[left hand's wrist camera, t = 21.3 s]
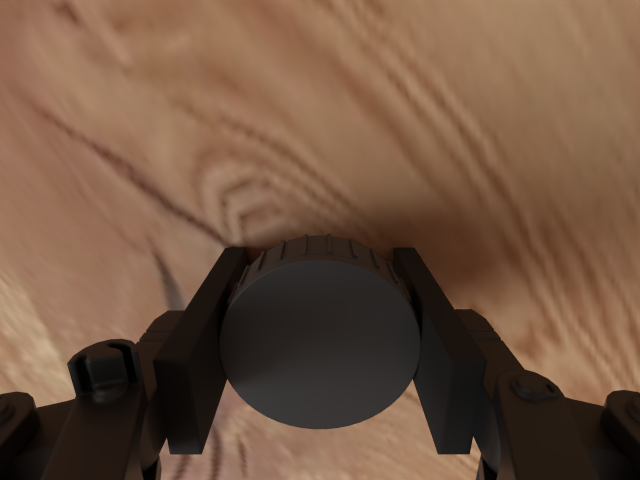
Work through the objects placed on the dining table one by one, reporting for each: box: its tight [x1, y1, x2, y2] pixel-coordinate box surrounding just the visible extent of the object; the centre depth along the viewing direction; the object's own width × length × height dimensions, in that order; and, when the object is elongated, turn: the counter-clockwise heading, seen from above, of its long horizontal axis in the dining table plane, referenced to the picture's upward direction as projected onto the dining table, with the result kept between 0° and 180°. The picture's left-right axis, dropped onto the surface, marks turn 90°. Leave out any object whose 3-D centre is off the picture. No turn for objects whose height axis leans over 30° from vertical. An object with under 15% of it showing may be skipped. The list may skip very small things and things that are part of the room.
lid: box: [219, 234, 421, 429], centre depth 11 cm, size 6×6×2 cm
